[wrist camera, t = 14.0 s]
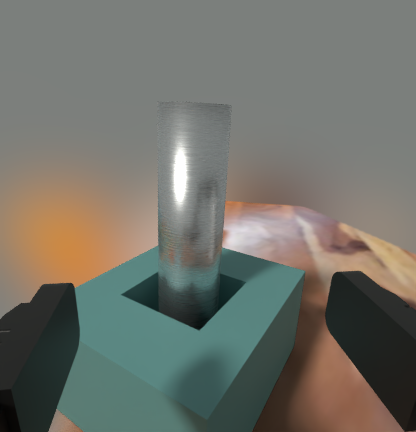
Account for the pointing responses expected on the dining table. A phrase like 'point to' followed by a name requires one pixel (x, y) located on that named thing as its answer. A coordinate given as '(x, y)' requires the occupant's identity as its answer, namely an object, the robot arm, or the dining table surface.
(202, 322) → the steel post
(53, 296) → the robot arm
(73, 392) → the well block
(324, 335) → the dining table surface
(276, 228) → the dining table surface
